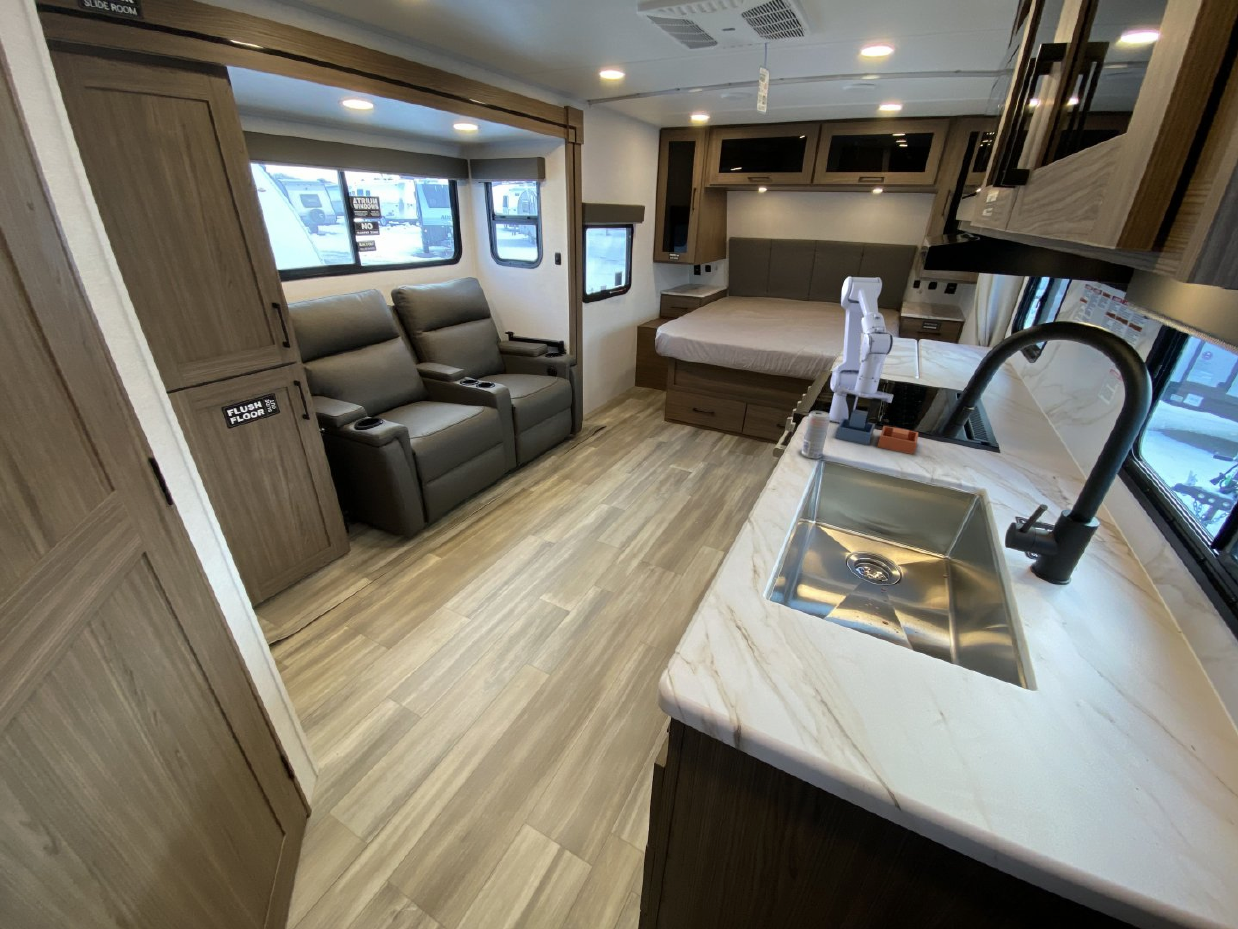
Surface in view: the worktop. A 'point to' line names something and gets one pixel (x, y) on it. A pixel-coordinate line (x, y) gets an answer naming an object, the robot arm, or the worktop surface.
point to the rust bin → (897, 441)
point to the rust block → (900, 433)
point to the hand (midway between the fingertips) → (857, 420)
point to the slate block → (858, 418)
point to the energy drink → (815, 434)
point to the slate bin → (855, 432)
